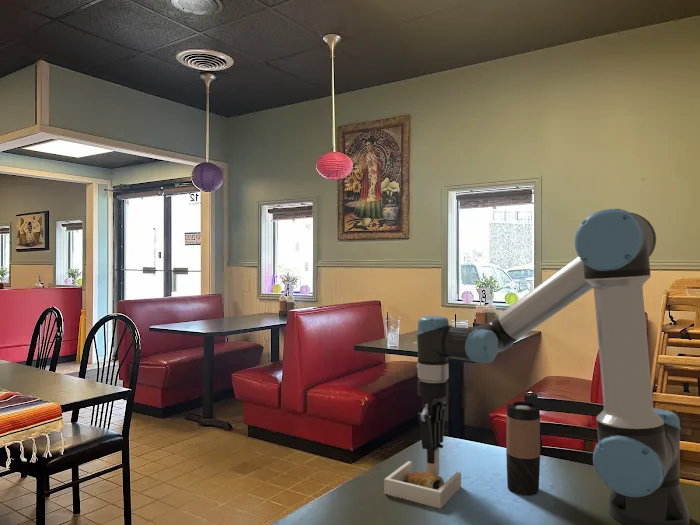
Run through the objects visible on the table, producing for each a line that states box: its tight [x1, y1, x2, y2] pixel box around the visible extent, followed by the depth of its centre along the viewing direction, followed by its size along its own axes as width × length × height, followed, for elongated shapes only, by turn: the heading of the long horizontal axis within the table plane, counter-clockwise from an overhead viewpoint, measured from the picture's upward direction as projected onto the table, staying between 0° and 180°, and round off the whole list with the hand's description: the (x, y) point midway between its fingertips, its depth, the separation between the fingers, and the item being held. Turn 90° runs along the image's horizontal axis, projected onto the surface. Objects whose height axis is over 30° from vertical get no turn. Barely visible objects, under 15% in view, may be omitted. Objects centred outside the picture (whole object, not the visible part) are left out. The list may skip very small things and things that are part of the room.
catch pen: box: [383, 460, 462, 509], centre depth 128 cm, size 14×13×4 cm
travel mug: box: [505, 401, 541, 497], centre depth 128 cm, size 8×8×20 cm
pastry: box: [406, 471, 445, 490], centre depth 130 cm, size 9×7×4 cm
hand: (432, 474), depth 133 cm, fingers closed
